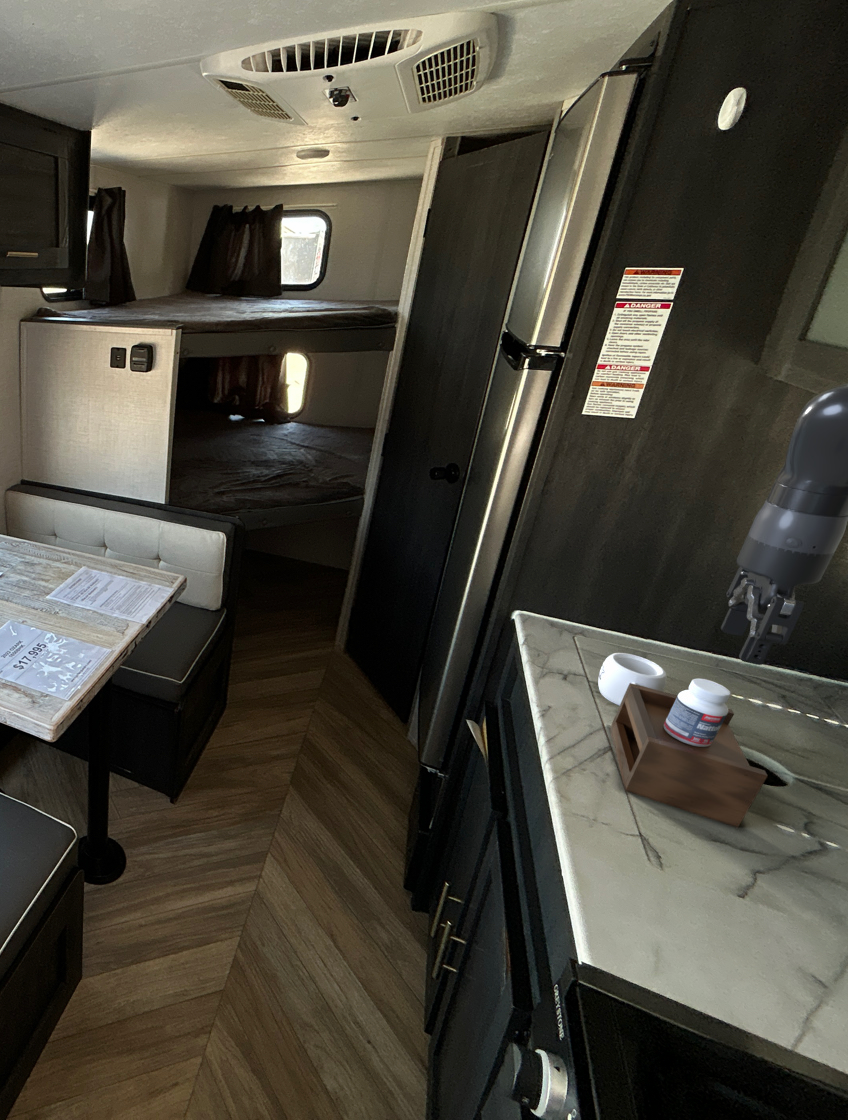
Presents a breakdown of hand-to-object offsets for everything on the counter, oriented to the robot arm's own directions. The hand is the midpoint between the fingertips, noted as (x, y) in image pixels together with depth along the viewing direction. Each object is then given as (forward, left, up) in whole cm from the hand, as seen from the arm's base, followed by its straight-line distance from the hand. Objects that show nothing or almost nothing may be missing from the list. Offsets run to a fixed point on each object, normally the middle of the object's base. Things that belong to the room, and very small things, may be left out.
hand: (740, 646), depth 87 cm
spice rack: (+1, 0, -24) cm, 24 cm away
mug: (+4, -18, -24) cm, 31 cm away
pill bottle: (+1, 0, -16) cm, 16 cm away
